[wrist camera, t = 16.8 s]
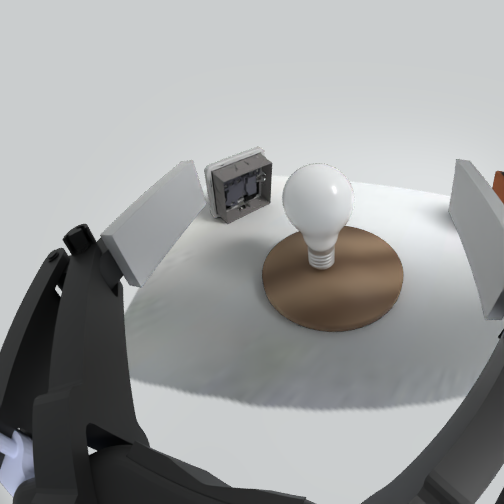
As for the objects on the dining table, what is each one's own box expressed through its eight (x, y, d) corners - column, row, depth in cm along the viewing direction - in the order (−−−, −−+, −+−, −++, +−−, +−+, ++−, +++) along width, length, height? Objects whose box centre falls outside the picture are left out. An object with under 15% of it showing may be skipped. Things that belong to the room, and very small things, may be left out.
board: (426, 303, 23) (429, 296, 22) (280, 350, 23) (279, 344, 22) (364, 222, 35) (364, 215, 34) (253, 247, 35) (252, 241, 34)
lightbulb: (312, 238, 32) (304, 149, 25) (361, 257, 28) (366, 160, 21) (279, 272, 29) (261, 175, 22) (332, 297, 25) (332, 191, 18)
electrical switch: (260, 194, 46) (254, 142, 39) (280, 207, 42) (276, 151, 36) (211, 217, 42) (197, 163, 36) (227, 233, 39) (214, 175, 33)
